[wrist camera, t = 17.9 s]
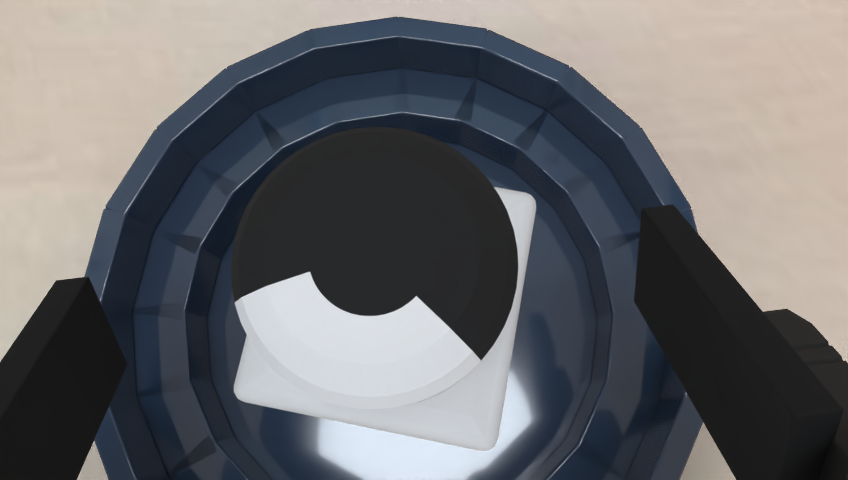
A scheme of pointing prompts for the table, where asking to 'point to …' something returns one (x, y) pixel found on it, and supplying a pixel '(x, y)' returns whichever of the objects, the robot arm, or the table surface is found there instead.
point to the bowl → (505, 168)
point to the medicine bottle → (382, 287)
